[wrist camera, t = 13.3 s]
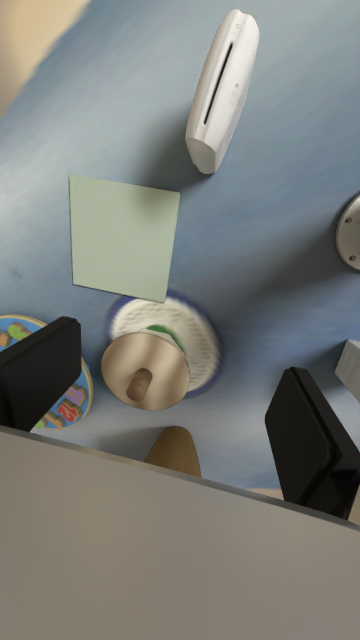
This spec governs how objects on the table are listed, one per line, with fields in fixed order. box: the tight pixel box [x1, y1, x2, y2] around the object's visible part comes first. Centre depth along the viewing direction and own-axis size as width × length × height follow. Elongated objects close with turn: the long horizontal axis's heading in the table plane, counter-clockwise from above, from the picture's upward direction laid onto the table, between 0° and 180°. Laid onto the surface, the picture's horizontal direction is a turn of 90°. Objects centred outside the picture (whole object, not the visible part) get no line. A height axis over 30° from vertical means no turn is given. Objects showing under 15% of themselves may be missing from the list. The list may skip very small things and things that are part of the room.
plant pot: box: [144, 426, 202, 478], centre depth 47 cm, size 15×15×16 cm
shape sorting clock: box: [0, 314, 93, 430], centre depth 51 cm, size 31×30×6 cm
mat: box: [69, 174, 181, 303], centre depth 38 cm, size 18×18×1 cm
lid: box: [101, 332, 190, 410], centre depth 39 cm, size 17×17×6 cm
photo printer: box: [185, 10, 259, 174], centre depth 25 cm, size 10×4×12 cm, turn 158°
